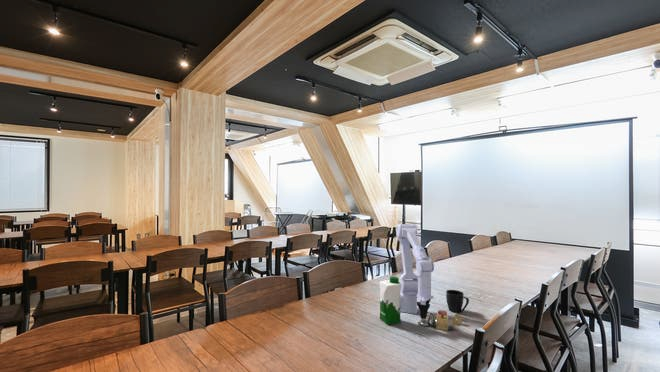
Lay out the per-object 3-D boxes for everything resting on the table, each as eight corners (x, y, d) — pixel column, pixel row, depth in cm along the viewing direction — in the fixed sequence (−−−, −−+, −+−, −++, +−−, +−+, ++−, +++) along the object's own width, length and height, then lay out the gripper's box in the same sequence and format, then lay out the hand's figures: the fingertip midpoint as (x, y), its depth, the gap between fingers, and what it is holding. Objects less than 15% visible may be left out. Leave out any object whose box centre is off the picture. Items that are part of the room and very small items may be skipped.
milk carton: (403, 323, 136) (403, 279, 136) (386, 326, 133) (386, 281, 133) (392, 316, 144) (393, 274, 145) (376, 318, 141) (377, 276, 141)
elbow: (452, 324, 136) (452, 315, 136) (451, 322, 138) (451, 314, 138) (461, 324, 136) (461, 316, 136) (459, 323, 138) (459, 314, 138)
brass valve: (431, 327, 132) (431, 312, 132) (431, 323, 137) (431, 308, 137) (453, 331, 129) (453, 315, 129) (453, 327, 133) (453, 311, 134)
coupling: (420, 325, 134) (420, 314, 134) (420, 321, 138) (420, 310, 138) (430, 326, 133) (430, 315, 133) (430, 322, 137) (430, 311, 137)
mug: (461, 318, 143) (461, 298, 144) (442, 309, 154) (442, 290, 154) (473, 315, 147) (473, 296, 147) (454, 306, 158) (454, 288, 158)
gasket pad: (417, 325, 134) (417, 325, 134) (418, 320, 139) (418, 320, 139) (430, 327, 132) (430, 327, 132) (430, 322, 137) (430, 322, 137)
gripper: (432, 291, 128) (432, 323, 128) (434, 282, 141) (434, 310, 141) (416, 289, 130) (415, 320, 130) (419, 280, 144) (418, 308, 144)
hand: (424, 315), depth 136 cm, fingers open, 7 cm apart
